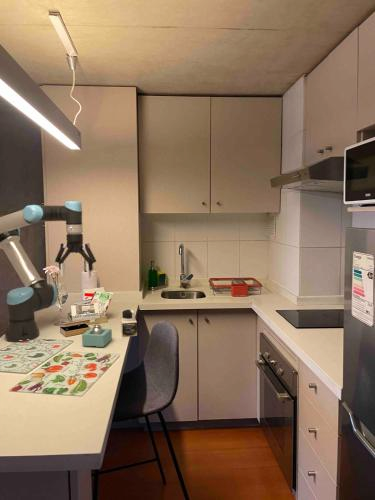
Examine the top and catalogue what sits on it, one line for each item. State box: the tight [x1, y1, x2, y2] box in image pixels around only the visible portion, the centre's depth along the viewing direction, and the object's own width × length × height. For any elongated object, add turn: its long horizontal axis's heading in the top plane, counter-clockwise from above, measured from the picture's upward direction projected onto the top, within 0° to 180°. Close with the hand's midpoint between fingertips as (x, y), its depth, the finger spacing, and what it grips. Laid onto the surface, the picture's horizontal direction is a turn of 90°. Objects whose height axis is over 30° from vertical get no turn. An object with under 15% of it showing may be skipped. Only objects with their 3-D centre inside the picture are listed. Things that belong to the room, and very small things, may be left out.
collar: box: [81, 327, 113, 348], centre depth 170 cm, size 10×10×5 cm
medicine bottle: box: [120, 309, 138, 338], centre depth 182 cm, size 7×7×12 cm
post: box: [92, 324, 102, 334], centre depth 169 cm, size 8×8×9 cm
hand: (76, 277), depth 180 cm, fingers open, 13 cm apart
